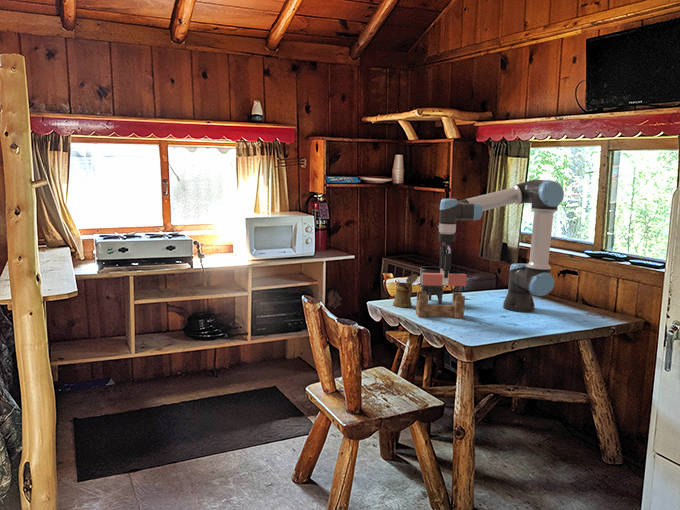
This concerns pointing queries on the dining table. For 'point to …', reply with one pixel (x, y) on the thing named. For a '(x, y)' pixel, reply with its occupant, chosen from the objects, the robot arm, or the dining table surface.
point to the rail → (437, 279)
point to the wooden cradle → (440, 306)
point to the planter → (431, 288)
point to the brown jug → (404, 292)
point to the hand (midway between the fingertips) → (444, 283)
